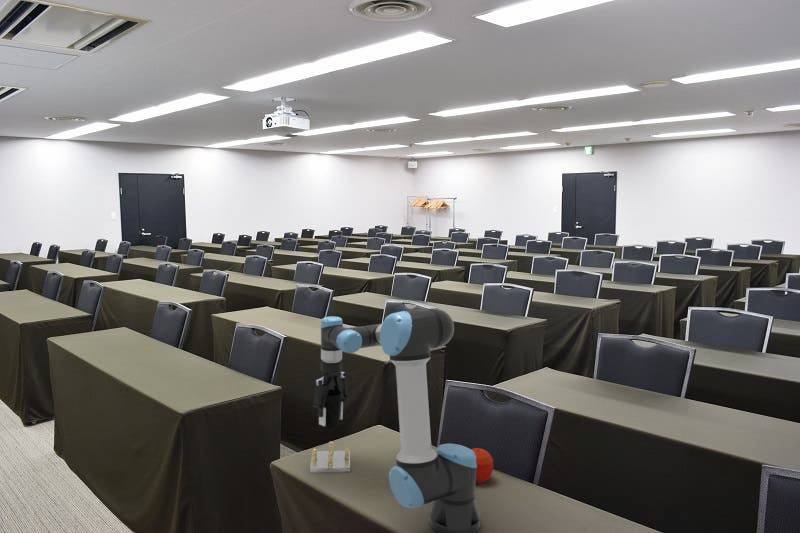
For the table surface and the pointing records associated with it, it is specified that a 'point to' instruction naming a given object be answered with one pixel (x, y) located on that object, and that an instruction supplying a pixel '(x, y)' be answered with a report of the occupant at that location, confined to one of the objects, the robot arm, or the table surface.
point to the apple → (483, 465)
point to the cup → (332, 408)
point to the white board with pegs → (330, 460)
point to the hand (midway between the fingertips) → (330, 421)
